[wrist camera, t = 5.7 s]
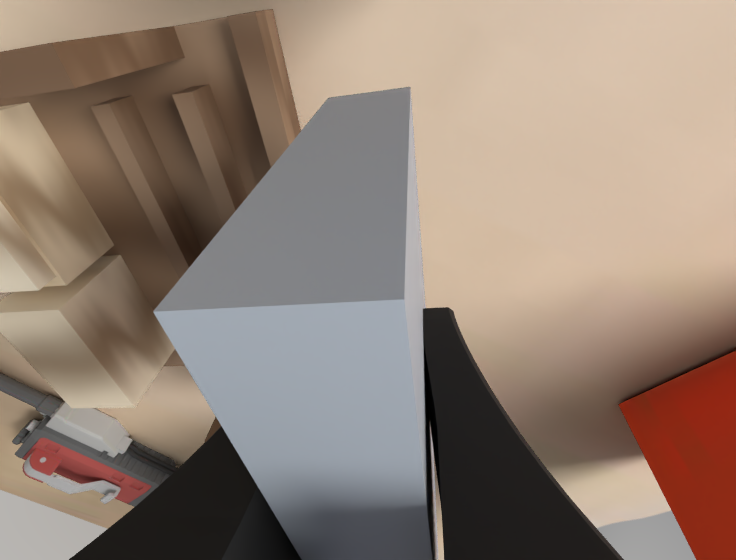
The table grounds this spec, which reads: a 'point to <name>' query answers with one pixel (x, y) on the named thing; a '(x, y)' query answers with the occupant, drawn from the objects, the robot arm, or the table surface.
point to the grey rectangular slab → (324, 335)
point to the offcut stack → (68, 279)
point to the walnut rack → (162, 131)
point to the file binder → (694, 452)
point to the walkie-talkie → (84, 450)
